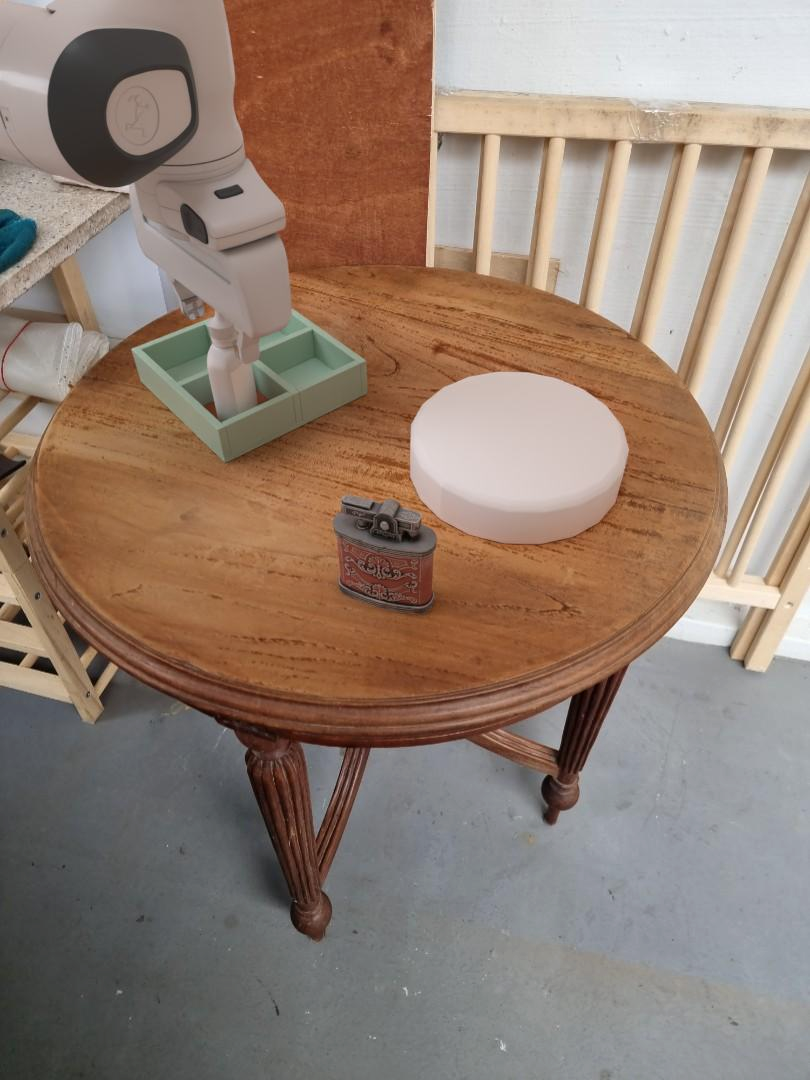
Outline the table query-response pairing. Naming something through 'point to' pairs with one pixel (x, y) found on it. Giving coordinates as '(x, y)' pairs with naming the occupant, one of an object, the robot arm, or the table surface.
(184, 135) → the robot arm
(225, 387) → the eye dropper bottle
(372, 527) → the lighter
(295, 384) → the grid
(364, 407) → the table surface
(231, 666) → the table surface
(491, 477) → the container
